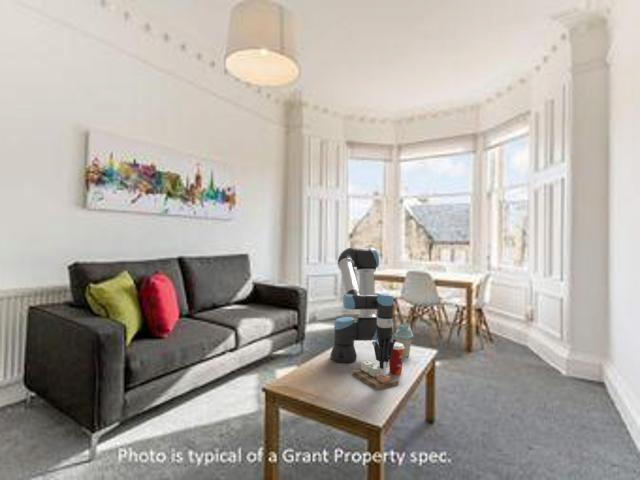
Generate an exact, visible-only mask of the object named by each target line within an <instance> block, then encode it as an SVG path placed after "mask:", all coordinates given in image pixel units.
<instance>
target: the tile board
mask: <svg viewBox="0 0 640 480" xmlns="http://www.w3.org/2000/svg"><path fill="white" fill-rule="evenodd" d="M352 375H353V377H356V378H358V379H359V380H360V381H362V382H364V383H365V384H367V385H368V386H370V387H372V388H373V389H375V390H377V391H379V390H383V389H388V388H391V387H394V386H399V383H400V382H399V379H397V378H395V377H393V376H391V375H390V374H388V373H386V375H388V376H390V382H386V383H381V382H379V381H377V377H373V376H371V375H369V372H367V373H366V372H364V371H363V370H361V368H358V369H353V370H352Z"/></svg>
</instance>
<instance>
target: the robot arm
mask: <svg viewBox="0 0 640 480" xmlns="http://www.w3.org/2000/svg"><path fill="white" fill-rule="evenodd" d="M337 266H338V269H339V270H340V272H341V276H342V277H341V278H342V282H343V286H344V291H345V294H344V295H343V297H342V298H343V300H342V301H343V302H342V303H343V307H344V309H345V310H353V311H354V310H359V314H358V315H357V319H355V317H353V316H342V317H339V318H337V319H335V321H334V324H333V346H332V347H331V348H332V349H331V352H330V360H331V361H333V362H335V363H341V364H350V363H354V362H356V361H357V356H358V355H357V352H356V351H357V350H356V348H355V341H357V342H358V341H359V342H360V341H361V342H362V341H363V342H364V341H365V342H367V341H369V342H371V344H372V346H373V349H374V354H375V360H376V361H378V362H379V365H378V366H379V367H380V374H381V375H383V376H386V374H387V368H388V365H389V364H388V363H389V359H390V360H391V357H392V352H393V347H394V344H395V342H396V338H393V337H392V335H393V323H394V321H393V320H394V319H393V317H394V304H395V303H394V296H393V294H392V293H385V292H382V293H379V292H375V272H377V268H378V267H379V266H380V257H379V253H378V251H377V249H376V248H373V247H372V248H371V247H348V248H346V249H344V250H343V251H342V252H341V253H340V255H339V256H338V259H337ZM355 268H356V270H355ZM356 272H358V273H359V274H358V275H359V276H358V277H359V281H358V278H357V275H356ZM375 310H376V312H375ZM375 313H376V314H375Z"/></svg>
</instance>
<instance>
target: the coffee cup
mask: <svg viewBox="0 0 640 480" xmlns="http://www.w3.org/2000/svg"><path fill="white" fill-rule="evenodd" d="M403 350H404V345H403V344H402V343H398V342H395V344H394V347H393V352H392V357H391V360H390V359H389V362H388V363H389V364H388V365H389V366H388V367H389V374H391V375H395V376H399V375H401V374H402V370H403V362H404V357H403Z"/></svg>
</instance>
